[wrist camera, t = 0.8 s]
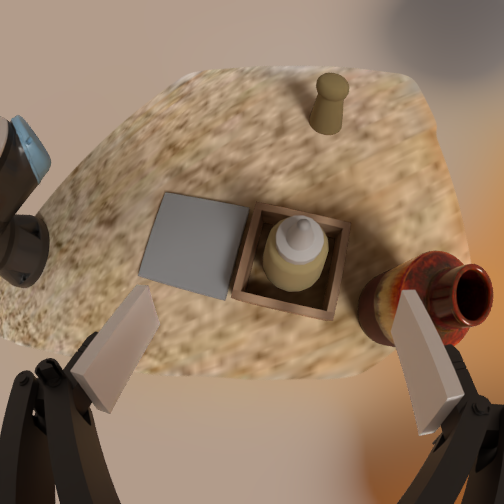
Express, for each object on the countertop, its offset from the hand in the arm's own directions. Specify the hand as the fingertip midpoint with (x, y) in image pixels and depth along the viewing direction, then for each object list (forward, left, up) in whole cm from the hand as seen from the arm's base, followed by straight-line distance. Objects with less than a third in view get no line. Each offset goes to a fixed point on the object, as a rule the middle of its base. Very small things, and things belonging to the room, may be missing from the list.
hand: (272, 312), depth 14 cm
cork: (+2, +35, -26) cm, 43 cm away
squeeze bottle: (+1, +8, -26) cm, 27 cm away
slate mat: (-14, +8, -26) cm, 31 cm away
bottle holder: (+1, +8, -26) cm, 27 cm away
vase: (+17, +5, -26) cm, 31 cm away
